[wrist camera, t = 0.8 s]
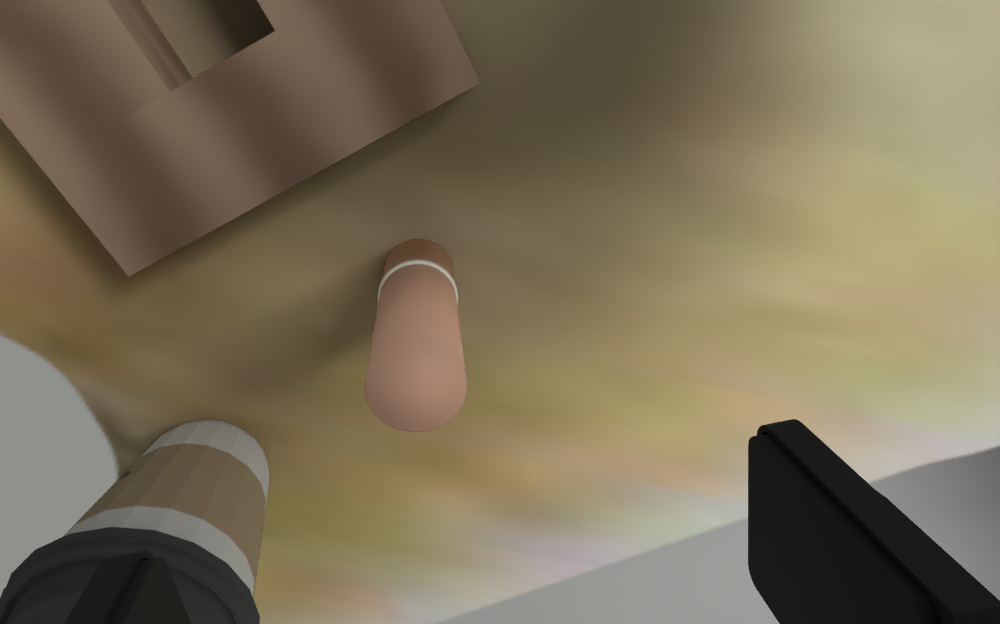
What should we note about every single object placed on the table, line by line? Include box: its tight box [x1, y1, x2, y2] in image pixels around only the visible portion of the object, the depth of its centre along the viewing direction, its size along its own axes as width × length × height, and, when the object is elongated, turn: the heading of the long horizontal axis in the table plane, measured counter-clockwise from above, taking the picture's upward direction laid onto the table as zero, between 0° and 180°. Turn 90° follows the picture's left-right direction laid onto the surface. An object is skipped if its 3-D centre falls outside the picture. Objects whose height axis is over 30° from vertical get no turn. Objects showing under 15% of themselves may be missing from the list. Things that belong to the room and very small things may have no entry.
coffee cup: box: [0, 419, 270, 624], centre depth 36 cm, size 11×11×15 cm
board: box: [0, 0, 481, 276], centre depth 31 cm, size 20×18×4 cm
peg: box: [365, 239, 467, 432], centre depth 33 cm, size 4×4×14 cm
